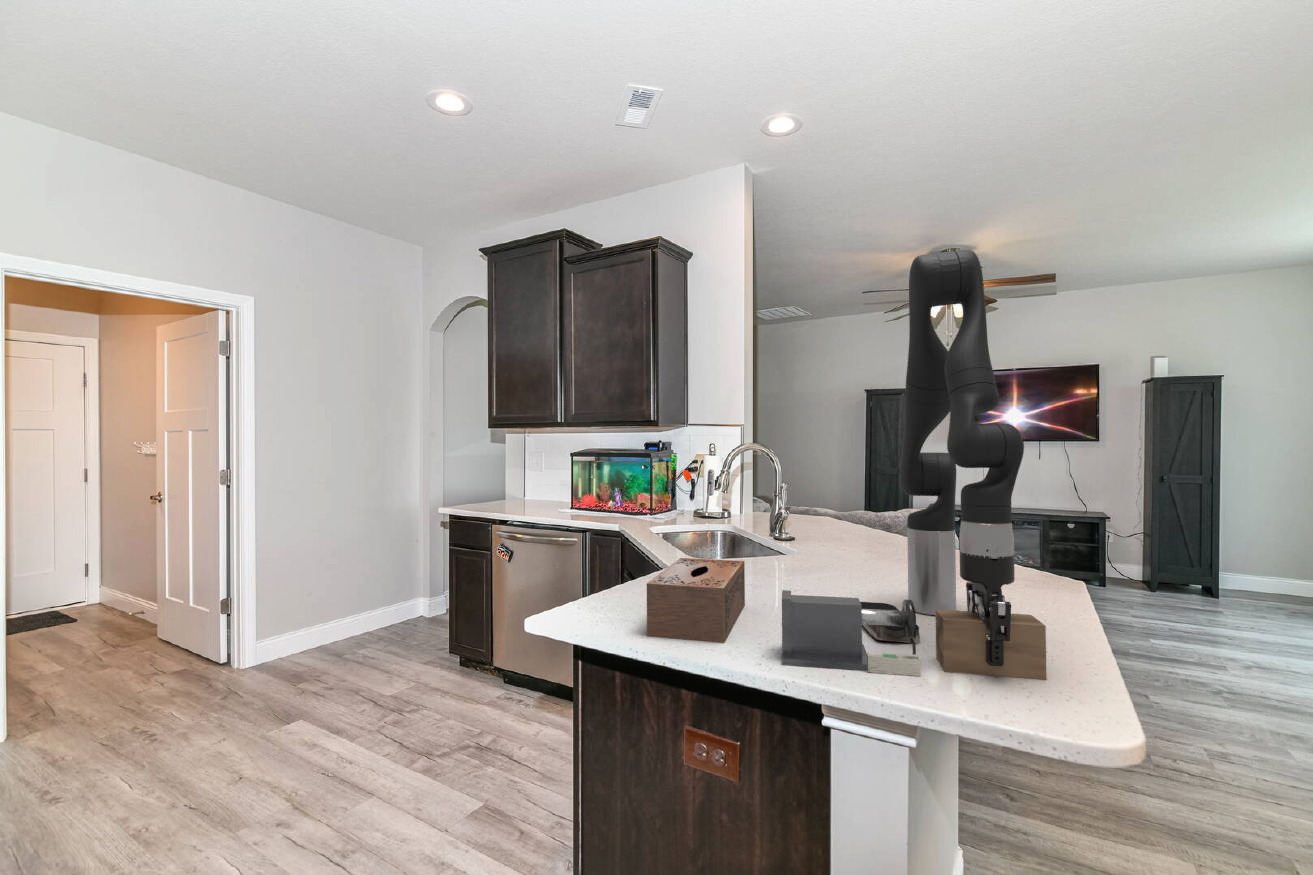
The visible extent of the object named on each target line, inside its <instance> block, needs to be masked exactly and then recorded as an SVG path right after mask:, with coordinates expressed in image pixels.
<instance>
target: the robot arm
mask: <svg viewBox="0 0 1313 875" xmlns="http://www.w3.org/2000/svg"><path fill="white" fill-rule="evenodd" d="M983 275H984V274H983V269H982V266H981V261H980V259H979V257H978V256H977V254H976V252H975V251H973V250H971V249H957V250H949V251H942V252H941V251H940V252H934V253H926V254H921V255H918V256H915V258H913V261H912V263H911V265H910V270H909V276H908V317H909V318H908V319H909V321H908V322H909V323H908V324H909V326H908V327H909V332H908V334H909V338H908V340H909V341H908V351H907V353H908V355H907V366H906V375H905V376H906V377H905V394H904V396H905V397H904V399H905V400H904V430H903V436H902V437H903V439H902V446H901V454H900V463H899V471H898V478H899V479H898V480H899V482H898V483H899V486H900V490H901V491H902V492H903V494H905V495H907V496H914V497H937V498H936V501H935V502H934V503H933V504H931V505H930V506H928V507H925V508H923V509H921V510H917V511H913V512H911V513H909V514H908V515H907V519H906V520H907V521H906V524H907V527H906V528H907V529H906V531H907V533H906V534H907V600H912V601H913V604H914V608H915V613H919V614H923V615H929V616H936V610H935V609H937V610H955V611H957V567H956V566H957V564H956V563H957V562H956V560H957V558H956V557H957V556H956V553H957V550H956V548H957V547H956V546H957V545H956V490H957V466H958V467H960V468H965V469H981V468H982V469H987V468H988V471H987V473H986V475H985V477H984V478H983V479H982V480H980V481H976V482H973V483H968V484H965V485H964V486H962V488H961V490H960V528H959V542H958V543H959V575H960V578H961V579H962V580H964V581H966V583H965V588H966V605H967V606H966V607H967V609H966V611H970V612H971V613H979V619H980V621H981V622H982V624H984V625H985V637H986V662H987V663H988V664H989V665H990V666H1003V665H1004V648H1003V642H1005V641H1010V625H1011V614H1012V603H1011V601H1006V599H1005V598H1006V597H1005V595H1003V592H1002V590H1003V589H1002V587H1003V586H1005V585H1012V584H1013V583H1014V582H1015V579H1016V577H1015V538H1014V537H1015V536H1014V531H1013V522H1012V518H1013V517H1012V515H1013V514H1012V497H1013V492H1014V489H1015V485H1016V481H1017V477H1018V473H1019V470H1020V467H1021V464H1022V462H1023V458H1024V454H1025V453H1024V452H1025V445H1024V442H1025V441H1024V439H1023V435H1022V434H1021V432H1020V431H1019V429H1018V428H1017V427H1015V426H1014V425H1013V424H1010V423H1003V422H1002V423H1001V422H999V423H998V422H995V423H986V422H985V423H984V422H983V423H980V422H979V423H976V420H975V416H980V415H983V414H985V413H989V412H992V411H993V410H994V409H996V408H997V407H998V406H999V402H1000V395H999V394H1000V393H999V390H998V387H997V382H996V377H995V373H994V370H993V366H992V362H991V356H990V351H989V340H988V326H987V325H988V324H987V310H986V308H987V307H986V299H985V286H984V277H983ZM959 304H960V305H961V307H962V320H961V325H960V327H959V328H958V331H957V333H956V335H955V337H954V339H953V341H952V343H951V346H950V347H949V349H947V347H946V346H945V344H943V341H942V340H941V339H940V337H939V335H938V334H937V332H936V330H935V328H934V325H933V323H932V308H935V307H941V306H950V305H959ZM948 415H949V425H948V426H949V427H948V432H947V433H948V435H947V439H946V440H947V441H946V447H947V448H946V450H947V452H921V450H922V449H923V446H924V444H925V442H926V440H927V439H928V437H929V436H930V435H931V434H932V433H933V431H934V430H935V429H936V428H937V427H938V426H939V425H940V424H941V423H942V422H943V421H944V420H945V419H946V418H947V416H948ZM986 617H987V618H986ZM988 618H990V619H988ZM996 626H999V632H996Z"/></svg>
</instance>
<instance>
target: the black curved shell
mask: <svg viewBox="0 0 1313 875" xmlns="http://www.w3.org/2000/svg"><path fill="white" fill-rule="evenodd" d="M860 603H861V605H862V609H874V610H894V611H900V610H899V609H898V607H896V606H895V605H893V604H891V603H884V602H871V601H860ZM862 627H864V628H865V629H866V631H867V632H868V633H869V634H871V636H873V637H874V639H876V640H877V641H878V640H879V641H884V642H885V641H887V642H896V643H898V642H899V643H907V644H908V643H909V644H911V642H910V639H909V638H906V637H905V634H904V629H903V626H887V625H869V624H862ZM919 629H920V626H919V625H918V624H916V634H915V638H914V639H913V640H914V642H915V644H918V643H920V641H921V635H920V632H919Z"/></svg>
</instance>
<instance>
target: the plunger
mask: <svg viewBox="0 0 1313 875" xmlns="http://www.w3.org/2000/svg"><path fill="white" fill-rule="evenodd" d="M901 608H902V609H901V610H899V611H894V610H874V609H862V624H869V625H887V626H903V629H904V634H905V637H906V638H909V639H910V642H911V643H910V644H911V645H912V647H911V648H912V649H911V650H912V655H914V656H915V655H916V654H917V650H916V649H917V645H916V644H917V643H915V642H914V640H913V639H914V638H915V634H916V625H917V616H916V612H915V608H914V604H913V601H912V600H908V599H903V601H902V607H901Z"/></svg>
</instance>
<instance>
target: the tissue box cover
mask: <svg viewBox="0 0 1313 875" xmlns="http://www.w3.org/2000/svg"><path fill="white" fill-rule="evenodd" d="M745 568H746V567H745V560H734V559H733V560H730V559H715V558H714V559H712V558H710V559H709V558H691V557H690V558H688V557H680V558H678V559H677V560H675V561H674V562H673V563H672V564H670V565H669V566H668V567H667V568H665V569H664V570H663V571H661V572H660V573H659V574H658V575H656V576H655V577H653V578H652V579H651V580H649V581H648V582H647V583H646V637H649V638H659V639H660V638H661V639H670V640H684V641H696V642H705V643H718V644H725V643H726V641H727V639H728V637H729V636H730V634H731V633H732V630H733V628H734V627H735V624H736V623H737V621H738V619H739V617H740V615H741V613H742V612H743V610H744V609H745V606H746V596H745V595H746V588H745V585H746V583H745V582H746V580H745V578H746V573H745Z"/></svg>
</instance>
